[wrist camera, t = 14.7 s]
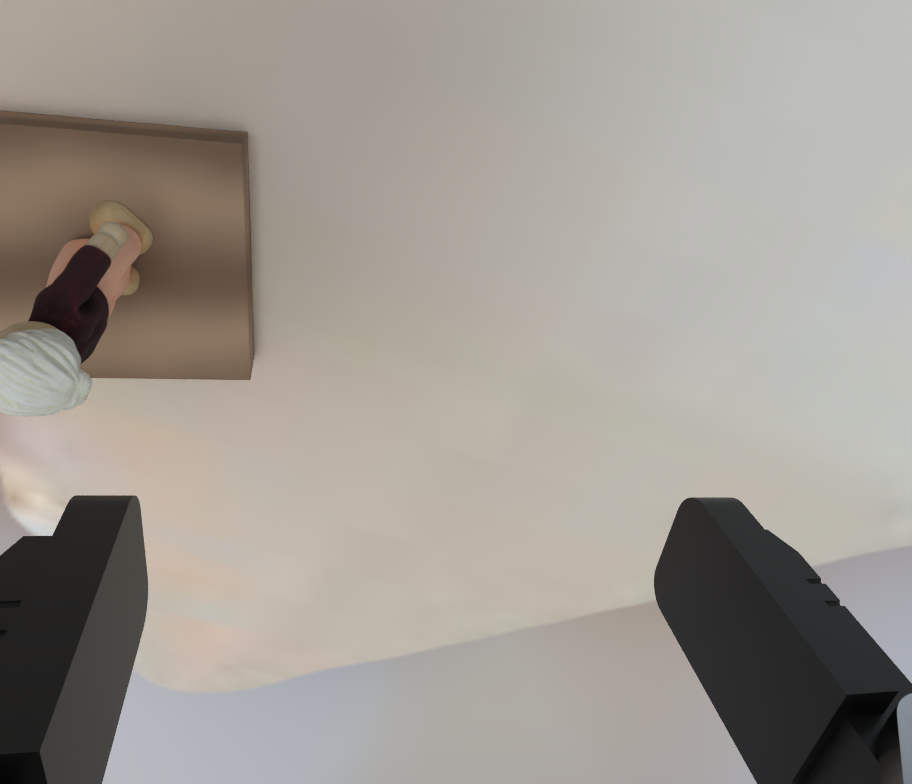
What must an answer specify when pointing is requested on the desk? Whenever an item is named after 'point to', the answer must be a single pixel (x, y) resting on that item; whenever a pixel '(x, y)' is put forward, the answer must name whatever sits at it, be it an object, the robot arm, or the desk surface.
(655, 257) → the desk surface
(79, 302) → the grandmother figurine
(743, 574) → the robot arm
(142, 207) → the walnut plinth
